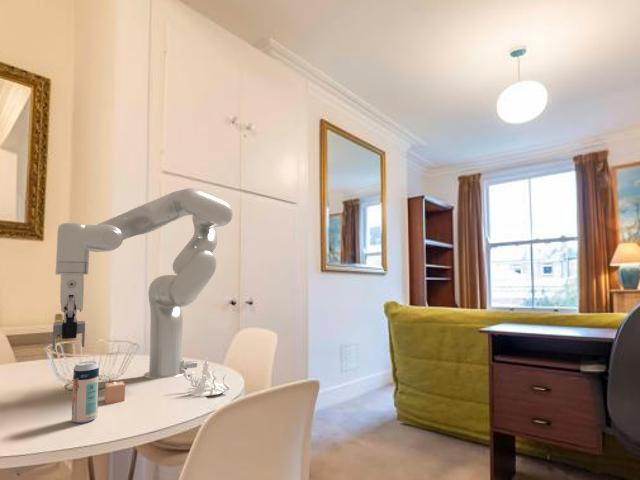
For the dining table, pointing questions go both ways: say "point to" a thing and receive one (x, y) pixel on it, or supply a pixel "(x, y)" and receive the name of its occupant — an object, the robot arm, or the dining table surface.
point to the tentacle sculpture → (206, 382)
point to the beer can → (85, 392)
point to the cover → (58, 331)
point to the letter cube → (114, 392)
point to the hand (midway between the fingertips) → (69, 335)
